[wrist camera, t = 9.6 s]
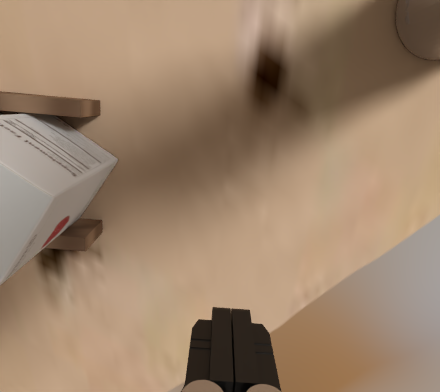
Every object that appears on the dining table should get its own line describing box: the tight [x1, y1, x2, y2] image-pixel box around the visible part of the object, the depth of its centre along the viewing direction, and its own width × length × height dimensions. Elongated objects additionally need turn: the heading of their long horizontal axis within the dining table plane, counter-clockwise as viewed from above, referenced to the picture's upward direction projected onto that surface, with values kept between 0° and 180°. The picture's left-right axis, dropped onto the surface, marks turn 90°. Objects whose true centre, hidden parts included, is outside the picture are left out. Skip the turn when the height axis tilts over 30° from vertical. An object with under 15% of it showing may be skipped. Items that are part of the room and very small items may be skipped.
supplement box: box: [0, 113, 118, 285], centre depth 29 cm, size 9×9×15 cm
